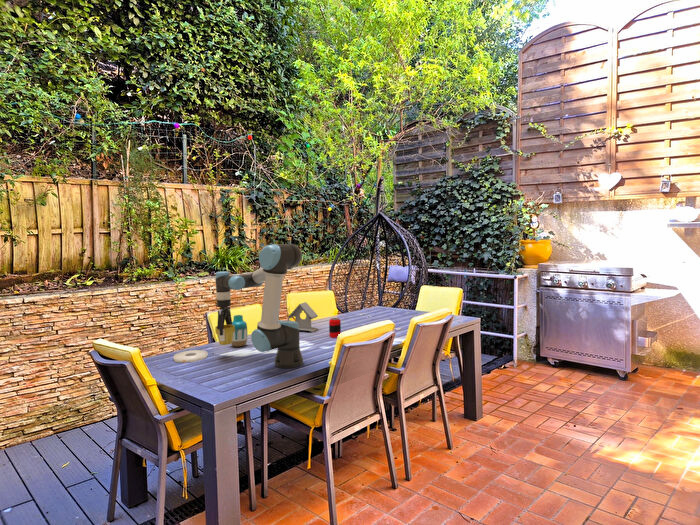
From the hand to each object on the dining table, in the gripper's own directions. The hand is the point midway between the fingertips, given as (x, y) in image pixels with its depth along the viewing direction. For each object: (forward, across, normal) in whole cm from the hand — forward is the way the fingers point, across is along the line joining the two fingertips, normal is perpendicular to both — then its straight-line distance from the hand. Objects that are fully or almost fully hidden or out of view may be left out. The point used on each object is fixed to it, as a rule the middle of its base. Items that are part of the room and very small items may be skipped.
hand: (225, 338), depth 241 cm
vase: (+11, -25, 0) cm, 28 cm away
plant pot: (+3, 0, 0) cm, 3 cm away
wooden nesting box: (+11, -66, +34) cm, 75 cm away
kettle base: (+11, 0, -20) cm, 23 cm away
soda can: (+12, -48, +58) cm, 76 cm away
